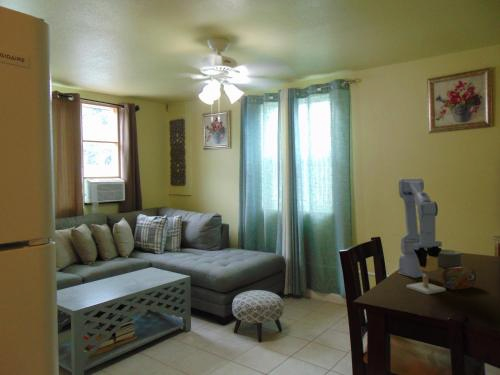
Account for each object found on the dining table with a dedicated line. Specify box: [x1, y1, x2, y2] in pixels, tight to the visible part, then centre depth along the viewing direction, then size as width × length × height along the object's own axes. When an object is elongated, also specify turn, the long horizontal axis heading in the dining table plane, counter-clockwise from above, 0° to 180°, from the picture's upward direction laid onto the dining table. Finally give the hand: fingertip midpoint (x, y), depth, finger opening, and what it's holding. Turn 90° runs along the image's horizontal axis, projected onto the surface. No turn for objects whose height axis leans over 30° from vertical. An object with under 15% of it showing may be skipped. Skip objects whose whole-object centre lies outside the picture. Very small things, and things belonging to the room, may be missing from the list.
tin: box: [441, 265, 477, 291], centre depth 146 cm, size 15×3×8 cm, turn 105°
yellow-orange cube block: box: [418, 255, 439, 272], centre depth 146 cm, size 5×5×5 cm
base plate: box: [406, 275, 447, 295], centre depth 145 cm, size 10×10×5 cm
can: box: [437, 249, 462, 269], centre depth 183 cm, size 12×12×7 cm
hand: (427, 265), depth 146 cm, fingers closed on yellow-orange cube block, 5 cm apart
